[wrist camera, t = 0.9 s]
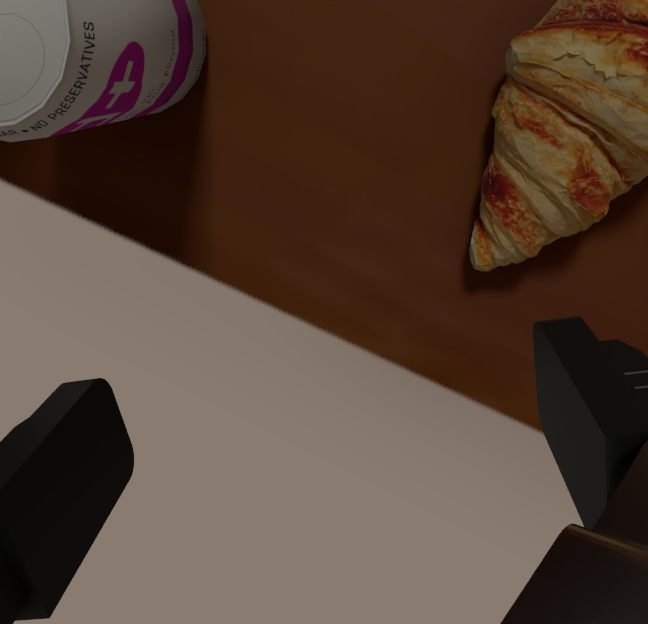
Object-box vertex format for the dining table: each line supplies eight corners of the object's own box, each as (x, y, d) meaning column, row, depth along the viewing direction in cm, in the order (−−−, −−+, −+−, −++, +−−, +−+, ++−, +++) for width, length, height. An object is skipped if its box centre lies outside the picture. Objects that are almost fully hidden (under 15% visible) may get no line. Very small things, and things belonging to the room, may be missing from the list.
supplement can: (237, 68, 34) (137, 73, 20) (117, 139, 36) (-50, 186, 22) (157, -83, 32) (-19, -198, 18) (33, 1, 34) (-213, -43, 20)
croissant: (505, 263, 40) (584, 335, 34) (385, 218, 35) (454, 293, 29) (737, -75, 32) (896, -59, 26) (626, -200, 27) (793, -217, 21)
